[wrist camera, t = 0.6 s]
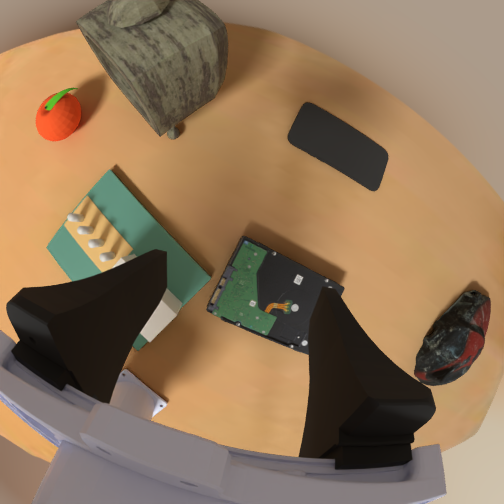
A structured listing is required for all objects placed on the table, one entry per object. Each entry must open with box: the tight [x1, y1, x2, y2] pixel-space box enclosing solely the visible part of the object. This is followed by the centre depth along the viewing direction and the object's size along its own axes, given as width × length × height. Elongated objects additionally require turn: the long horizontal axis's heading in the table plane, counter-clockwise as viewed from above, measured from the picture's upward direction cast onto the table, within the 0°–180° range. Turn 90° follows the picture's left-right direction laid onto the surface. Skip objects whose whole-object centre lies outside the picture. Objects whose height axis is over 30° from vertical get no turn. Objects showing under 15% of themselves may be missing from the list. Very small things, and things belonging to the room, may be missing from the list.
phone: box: [288, 103, 388, 191], centre depth 35 cm, size 7×1×15 cm
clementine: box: [36, 88, 81, 141], centre depth 26 cm, size 8×7×7 cm
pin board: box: [46, 169, 211, 351], centre depth 30 cm, size 14×19×4 cm
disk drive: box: [206, 236, 344, 355], centre depth 34 cm, size 10×3×15 cm
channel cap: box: [112, 254, 182, 342], centre depth 29 cm, size 5×8×5 cm, turn 44°
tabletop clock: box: [76, 0, 228, 139], centre depth 19 cm, size 14×9×25 cm, turn 40°
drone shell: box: [414, 290, 491, 386], centre depth 37 cm, size 21×20×8 cm
